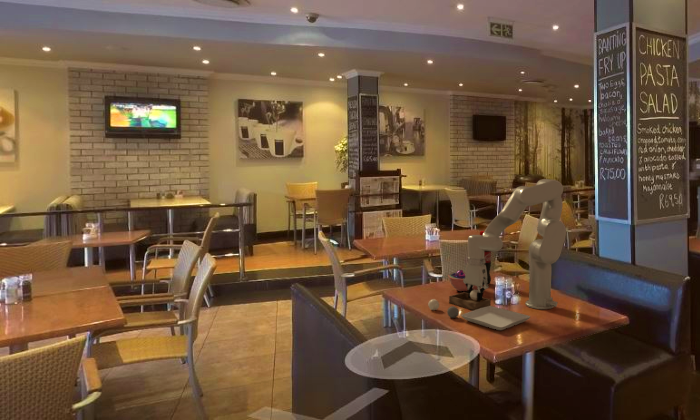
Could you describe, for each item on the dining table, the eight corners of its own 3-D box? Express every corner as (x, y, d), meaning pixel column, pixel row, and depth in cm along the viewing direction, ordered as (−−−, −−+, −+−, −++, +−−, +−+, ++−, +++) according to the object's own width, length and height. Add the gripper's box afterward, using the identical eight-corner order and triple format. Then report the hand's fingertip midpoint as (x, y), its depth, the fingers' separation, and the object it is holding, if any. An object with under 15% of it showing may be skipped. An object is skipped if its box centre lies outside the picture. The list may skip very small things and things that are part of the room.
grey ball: (461, 317, 216) (461, 306, 215) (453, 320, 213) (453, 309, 212) (452, 315, 220) (452, 304, 219) (444, 317, 217) (444, 306, 216)
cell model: (478, 298, 245) (478, 276, 244) (441, 292, 257) (442, 271, 256) (490, 290, 259) (491, 269, 257) (455, 285, 271) (455, 265, 269)
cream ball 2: (483, 300, 230) (483, 290, 230) (475, 302, 228) (476, 291, 227) (474, 297, 235) (474, 287, 234) (467, 299, 232) (467, 289, 231)
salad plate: (459, 321, 212) (459, 314, 211) (489, 311, 225) (490, 304, 224) (501, 335, 195) (501, 327, 195) (531, 323, 208) (531, 316, 208)
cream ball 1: (441, 310, 227) (441, 299, 226) (433, 312, 224) (433, 301, 224) (433, 307, 231) (433, 297, 230) (425, 309, 228) (426, 299, 228)
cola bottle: (475, 286, 268) (476, 232, 265) (474, 282, 276) (475, 229, 273) (491, 286, 266) (492, 232, 263) (489, 282, 275) (490, 229, 272)
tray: (490, 306, 231) (490, 299, 231) (474, 311, 225) (475, 303, 224) (464, 299, 244) (464, 292, 244) (449, 303, 238) (449, 296, 237)
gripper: (495, 263, 224) (495, 301, 226) (467, 257, 238) (467, 293, 240) (485, 265, 220) (484, 304, 222) (456, 259, 234) (456, 296, 236)
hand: (475, 298), depth 231 cm, fingers closed on cream ball 2, 4 cm apart
